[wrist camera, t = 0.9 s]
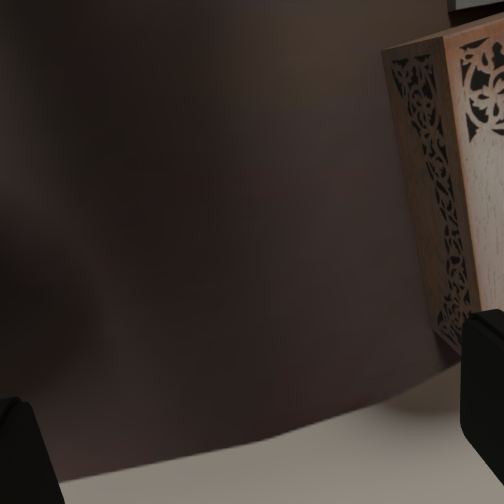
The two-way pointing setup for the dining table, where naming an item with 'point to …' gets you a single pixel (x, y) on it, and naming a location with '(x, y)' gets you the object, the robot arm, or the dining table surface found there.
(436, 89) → the tissue box cover
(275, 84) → the dining table surface
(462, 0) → the gray stepped square frame
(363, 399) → the dining table surface
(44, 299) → the dining table surface
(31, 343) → the dining table surface
